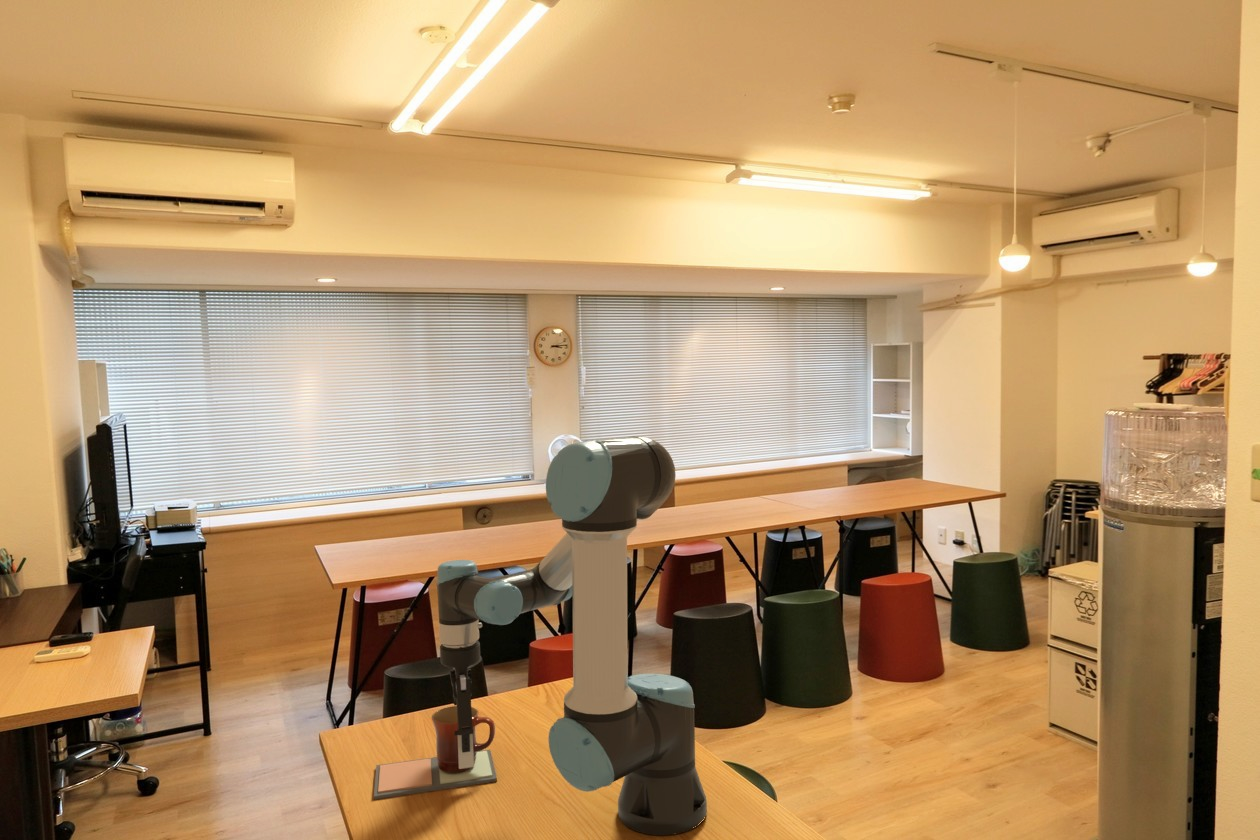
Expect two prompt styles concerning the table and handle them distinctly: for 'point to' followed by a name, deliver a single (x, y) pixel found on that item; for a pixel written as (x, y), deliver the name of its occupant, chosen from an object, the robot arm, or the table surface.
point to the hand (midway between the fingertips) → (464, 752)
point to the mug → (455, 738)
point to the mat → (429, 776)
